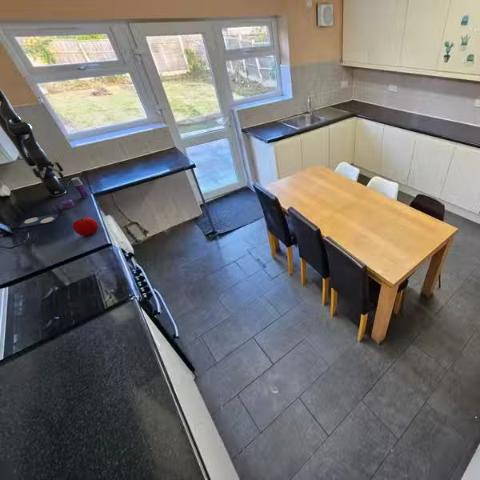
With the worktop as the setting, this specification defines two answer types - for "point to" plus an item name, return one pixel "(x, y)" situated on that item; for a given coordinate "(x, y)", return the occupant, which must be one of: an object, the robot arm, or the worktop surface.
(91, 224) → the tomato
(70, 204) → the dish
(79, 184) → the container
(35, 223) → the mat
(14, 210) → the worktop surface
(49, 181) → the robot arm
